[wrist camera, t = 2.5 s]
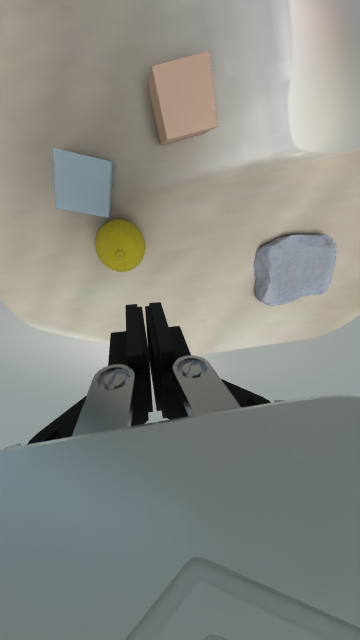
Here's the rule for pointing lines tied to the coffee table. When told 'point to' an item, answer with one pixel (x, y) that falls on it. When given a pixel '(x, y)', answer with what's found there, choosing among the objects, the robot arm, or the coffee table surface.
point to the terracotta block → (183, 97)
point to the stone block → (294, 268)
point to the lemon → (120, 245)
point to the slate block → (82, 183)
